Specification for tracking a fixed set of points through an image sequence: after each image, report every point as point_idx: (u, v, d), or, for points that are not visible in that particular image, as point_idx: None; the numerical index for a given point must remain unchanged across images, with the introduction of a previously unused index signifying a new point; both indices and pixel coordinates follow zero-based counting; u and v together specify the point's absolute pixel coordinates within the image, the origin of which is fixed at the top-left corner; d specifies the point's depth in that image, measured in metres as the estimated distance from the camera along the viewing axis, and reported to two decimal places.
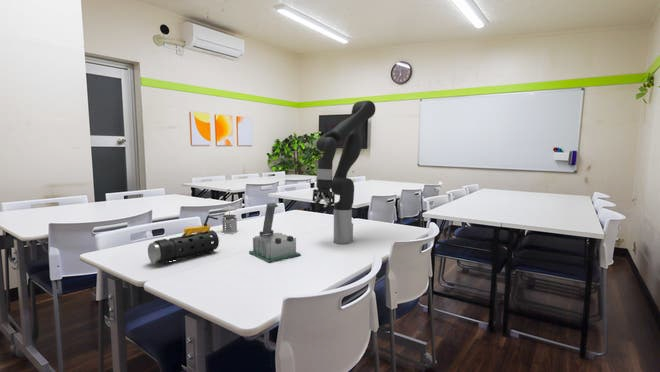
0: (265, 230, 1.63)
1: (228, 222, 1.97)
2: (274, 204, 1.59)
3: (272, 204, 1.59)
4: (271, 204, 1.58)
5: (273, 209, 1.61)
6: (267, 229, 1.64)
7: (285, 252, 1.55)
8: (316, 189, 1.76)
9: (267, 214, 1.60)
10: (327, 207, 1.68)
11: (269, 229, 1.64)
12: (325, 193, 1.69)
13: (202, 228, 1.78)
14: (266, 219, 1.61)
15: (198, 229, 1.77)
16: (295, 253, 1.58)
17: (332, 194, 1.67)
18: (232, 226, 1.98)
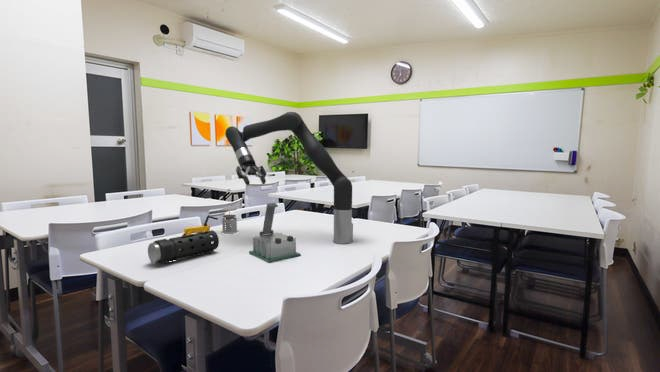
0: (265, 230, 1.63)
1: (228, 222, 1.97)
2: (274, 204, 1.59)
3: (272, 204, 1.59)
4: (271, 204, 1.58)
5: (273, 209, 1.61)
6: (267, 229, 1.64)
7: (285, 252, 1.55)
8: (260, 167, 1.77)
9: (267, 214, 1.60)
10: None
11: (269, 229, 1.64)
12: None
13: (202, 228, 1.78)
14: (266, 219, 1.61)
15: (198, 229, 1.77)
16: (295, 253, 1.58)
17: (236, 169, 1.69)
18: (232, 226, 1.98)
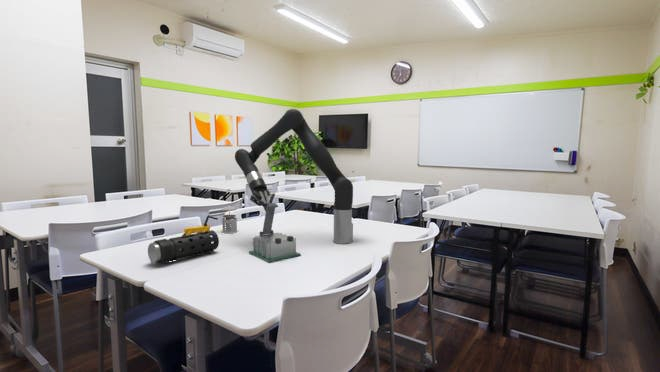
0: (265, 230, 1.63)
1: (228, 222, 1.97)
2: (274, 204, 1.59)
3: (272, 204, 1.58)
4: (271, 204, 1.58)
5: (273, 209, 1.61)
6: (267, 230, 1.64)
7: (285, 252, 1.55)
8: None
9: (267, 214, 1.60)
10: None
11: (269, 229, 1.64)
12: None
13: (202, 228, 1.78)
14: (266, 219, 1.61)
15: (198, 229, 1.77)
16: (295, 253, 1.58)
17: (252, 199, 1.61)
18: (232, 226, 1.98)
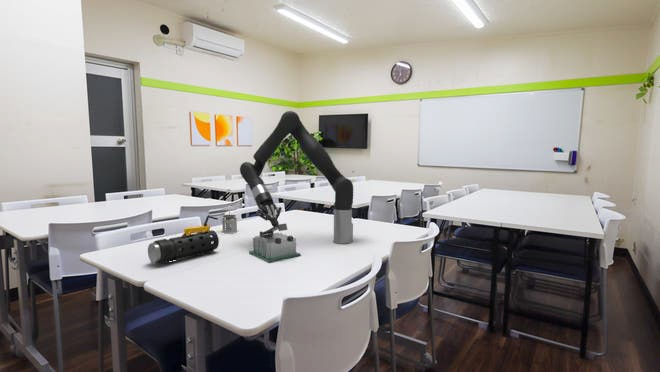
0: (266, 233, 1.62)
1: (228, 222, 1.97)
2: (284, 227, 1.53)
3: (282, 227, 1.53)
4: (281, 226, 1.53)
5: None
6: (268, 232, 1.63)
7: (285, 252, 1.55)
8: None
9: (274, 229, 1.56)
10: None
11: (270, 232, 1.64)
12: None
13: (202, 228, 1.78)
14: (271, 230, 1.58)
15: (198, 229, 1.77)
16: (295, 253, 1.58)
17: (258, 213, 1.57)
18: (232, 226, 1.98)
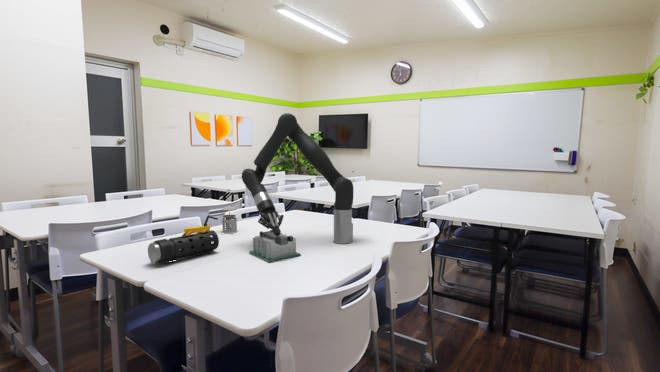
0: None
1: (228, 222, 1.97)
2: (285, 241, 1.53)
3: (284, 241, 1.53)
4: (283, 241, 1.53)
5: None
6: None
7: (285, 252, 1.55)
8: None
9: None
10: None
11: None
12: None
13: (202, 228, 1.78)
14: None
15: (198, 229, 1.77)
16: (295, 253, 1.58)
17: (260, 222, 1.56)
18: (232, 226, 1.98)
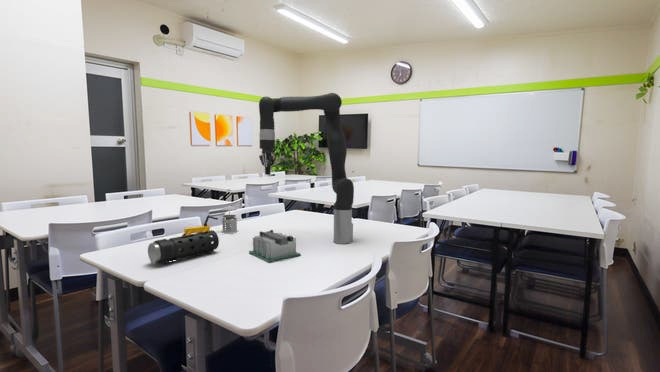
0: None
1: (228, 222, 1.97)
2: (285, 241, 1.53)
3: (284, 241, 1.53)
4: (283, 241, 1.53)
5: None
6: None
7: (285, 252, 1.55)
8: (261, 155, 1.78)
9: None
10: (266, 169, 1.73)
11: None
12: (268, 155, 1.71)
13: (202, 228, 1.78)
14: None
15: (198, 229, 1.77)
16: (295, 253, 1.58)
17: (273, 158, 1.69)
18: (232, 226, 1.98)
